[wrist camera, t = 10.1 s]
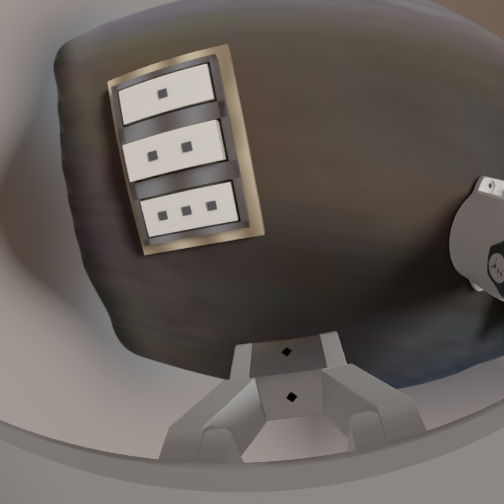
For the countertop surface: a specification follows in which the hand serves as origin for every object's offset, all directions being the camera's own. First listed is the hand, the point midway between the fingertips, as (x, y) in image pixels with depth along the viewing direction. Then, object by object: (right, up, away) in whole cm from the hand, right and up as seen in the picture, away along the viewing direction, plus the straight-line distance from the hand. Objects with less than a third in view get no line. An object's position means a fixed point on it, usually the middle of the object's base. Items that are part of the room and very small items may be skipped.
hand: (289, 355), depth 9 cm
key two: (-10, +15, +24) cm, 30 cm away
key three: (-8, +9, +27) cm, 30 cm away
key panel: (-10, +16, +28) cm, 33 cm away
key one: (-11, +22, +23) cm, 33 cm away
